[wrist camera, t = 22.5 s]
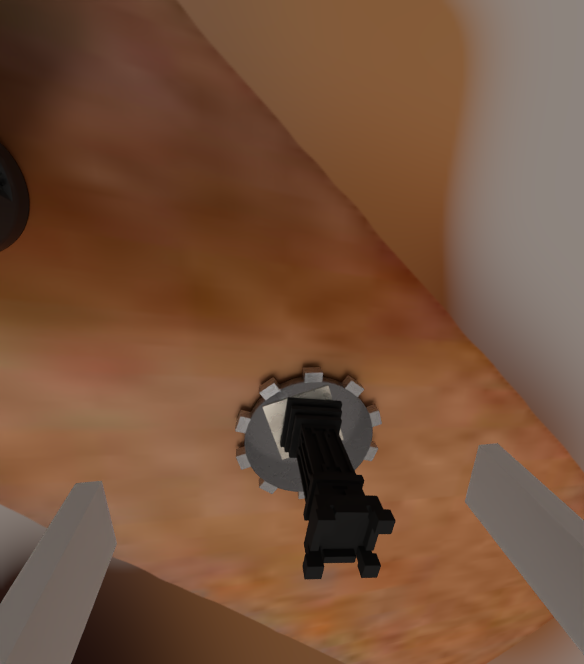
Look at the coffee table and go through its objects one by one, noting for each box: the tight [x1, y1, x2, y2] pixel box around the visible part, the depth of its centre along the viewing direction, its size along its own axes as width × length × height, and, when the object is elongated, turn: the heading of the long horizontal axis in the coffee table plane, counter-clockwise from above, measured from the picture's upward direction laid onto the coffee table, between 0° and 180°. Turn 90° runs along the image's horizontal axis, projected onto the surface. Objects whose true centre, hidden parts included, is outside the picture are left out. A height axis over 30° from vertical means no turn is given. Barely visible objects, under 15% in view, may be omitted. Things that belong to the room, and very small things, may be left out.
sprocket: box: [235, 367, 382, 499], centre depth 46 cm, size 23×23×12 cm
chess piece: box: [280, 397, 395, 579], centre depth 39 cm, size 8×8×20 cm
